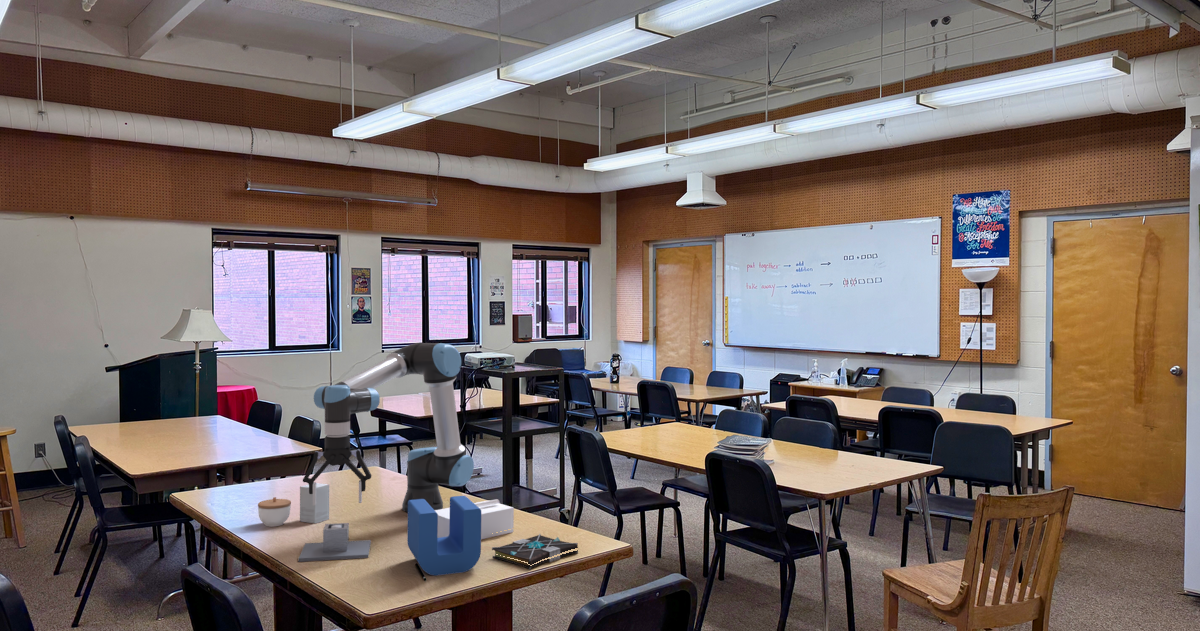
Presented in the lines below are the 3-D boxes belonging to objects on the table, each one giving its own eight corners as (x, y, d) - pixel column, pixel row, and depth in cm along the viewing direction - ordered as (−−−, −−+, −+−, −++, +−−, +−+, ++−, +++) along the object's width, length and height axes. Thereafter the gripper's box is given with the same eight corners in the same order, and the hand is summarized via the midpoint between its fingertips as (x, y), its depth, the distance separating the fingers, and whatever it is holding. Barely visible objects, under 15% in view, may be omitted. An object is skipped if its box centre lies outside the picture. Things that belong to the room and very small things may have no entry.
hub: (348, 544, 250) (348, 522, 250) (346, 551, 243) (347, 528, 243) (325, 546, 248) (325, 523, 248) (322, 552, 241) (323, 529, 241)
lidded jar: (278, 529, 270) (279, 501, 270) (251, 527, 272) (251, 500, 272) (296, 521, 281) (297, 495, 281) (269, 519, 283) (270, 493, 283)
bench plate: (370, 543, 255) (371, 518, 255) (368, 557, 240) (368, 531, 240) (305, 546, 251) (305, 521, 251) (298, 561, 235) (298, 534, 235)
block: (418, 577, 222) (419, 514, 222) (407, 559, 239) (407, 500, 239) (480, 570, 230) (481, 508, 230) (465, 553, 246) (466, 495, 246)
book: (530, 571, 231) (530, 553, 231) (490, 559, 241) (490, 542, 241) (578, 554, 247) (578, 538, 247) (539, 544, 258) (539, 528, 258)
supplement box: (329, 519, 284) (330, 484, 284) (314, 524, 278) (314, 488, 278) (314, 516, 288) (314, 482, 288) (298, 521, 281) (299, 486, 281)
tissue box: (427, 537, 264) (427, 504, 264) (488, 524, 281) (488, 493, 281) (451, 546, 253) (451, 512, 253) (513, 532, 271) (513, 500, 271)
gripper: (379, 431, 252) (379, 497, 252) (296, 434, 246) (296, 502, 246) (378, 435, 245) (378, 503, 245) (293, 438, 239) (293, 508, 239)
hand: (337, 503), depth 246 cm, fingers open, 13 cm apart
